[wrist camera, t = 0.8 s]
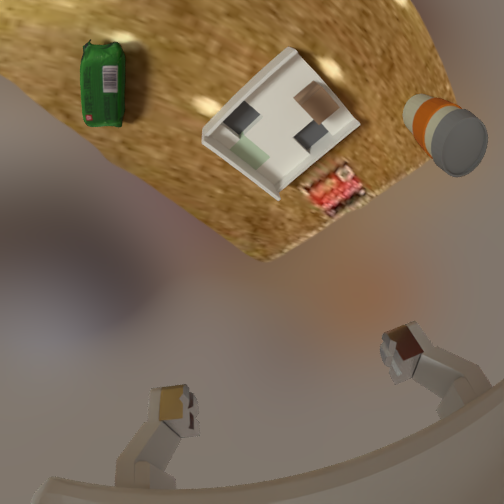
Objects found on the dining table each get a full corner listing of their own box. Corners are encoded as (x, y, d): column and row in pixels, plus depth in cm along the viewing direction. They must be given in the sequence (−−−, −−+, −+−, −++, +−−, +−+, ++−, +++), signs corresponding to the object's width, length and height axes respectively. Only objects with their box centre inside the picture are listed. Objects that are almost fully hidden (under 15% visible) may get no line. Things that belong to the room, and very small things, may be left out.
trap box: (288, 46, 37) (299, 50, 33) (350, 115, 47) (365, 128, 43) (202, 128, 47) (201, 143, 42) (271, 181, 56) (278, 201, 52)
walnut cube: (313, 80, 40) (322, 87, 37) (329, 99, 42) (340, 107, 39) (292, 97, 42) (300, 105, 39) (310, 115, 44) (318, 125, 41)
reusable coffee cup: (385, 124, 49) (428, 162, 39) (413, 74, 41) (465, 102, 30) (423, 148, 53) (464, 187, 43) (450, 104, 45) (497, 137, 35)
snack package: (130, 36, 33) (121, 38, 29) (128, 123, 43) (120, 134, 40) (90, 41, 31) (77, 44, 28) (91, 124, 42) (80, 136, 38)
